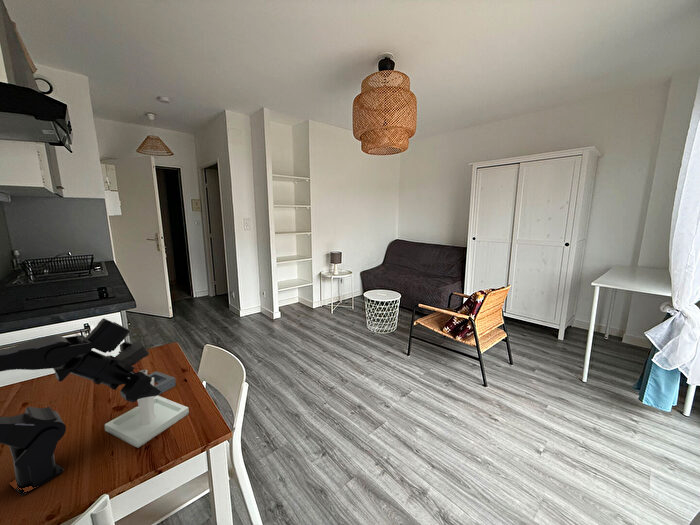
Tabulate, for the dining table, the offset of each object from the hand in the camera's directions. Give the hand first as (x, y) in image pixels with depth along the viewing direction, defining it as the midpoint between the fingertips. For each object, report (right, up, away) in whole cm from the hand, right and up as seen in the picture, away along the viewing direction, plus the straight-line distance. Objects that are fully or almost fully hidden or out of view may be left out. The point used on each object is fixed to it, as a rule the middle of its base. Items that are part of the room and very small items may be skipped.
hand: (151, 387), depth 79 cm
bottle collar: (-11, -8, +15) cm, 20 cm away
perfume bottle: (-1, -10, 0) cm, 10 cm away
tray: (-1, -10, 0) cm, 10 cm away
